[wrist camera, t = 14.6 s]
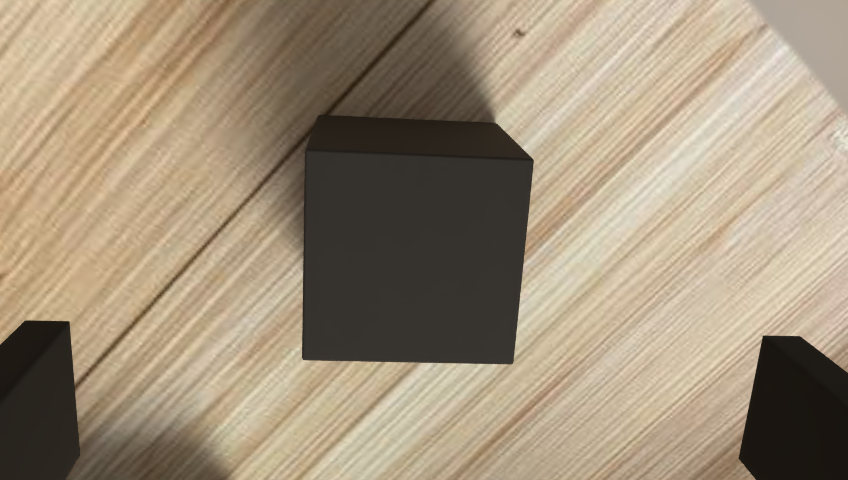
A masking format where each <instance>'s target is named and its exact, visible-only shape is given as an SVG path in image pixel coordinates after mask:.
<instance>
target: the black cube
mask: <svg viewBox="0 0 848 480" xmlns="http://www.w3.org/2000/svg"><path fill="white" fill-rule="evenodd" d="M533 163H534V161H533V159H532V158H531V157H530V156H529V155H528V154H527V153H526V152H525V151H524V150H523V149H522V148H521V147H520V146H519V145H518V144H517V143H516V142H515V141H514V140H513V139H512V138H511V137H510V136H509V135H508V134H507V133H506V132H505V131H504V130H503V129H502V128H501V127H500V126H499V125H498V124H496V123H479V122H458V121H436V120H415V119H394V118H373V117H352V116H331V115H318V117H317V120H316V123H315V125H314V128H313V131H312V134H311V136H310V139H309V142H308V145H307V147H306V150H305V190H304V261H303V332H302V358H303V360H321V361H370V362H420V363H470V364H513V361H514V351H515V341H516V331H517V321H518V311H519V302H520V292H521V282H522V272H523V262H524V252H525V242H526V232H527V223H528V213H529V203H530V193H531V183H532V173H533Z"/></svg>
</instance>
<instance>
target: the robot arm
mask: <svg viewBox="0 0 848 480" xmlns="http://www.w3.org/2000/svg"><path fill="white" fill-rule="evenodd" d="M79 456H80V448H79V435H78V423H77V410H76V398H75V385H74V373H73V360H72V348H71V335H70V323H69V321H24V322H23V323H22V324H21V325H20V326H19V327H18V328H17V329H16V330H15V331H14V332H13V333H12V334H11V335H10V336H9V337H8V338H7V339H6V340H5V341H4V342H3V343H2V344H1V345H0V480H65V479H66V477H67V476H68V474H69V472H70V471H71V469H72V468H73V466H74V464H75V463H76V461H77V459H78V458H79ZM739 459H740V461H741V462H742V463H743V464H744V465H745V467H746V468H747V469H748V470H749V472H750V473H751V474H752V475H753V476H754V478H755V479H756V480H848V373H847V372H846V371H844V370H843V369H842V368H841V367H839V366H838V365H837V364H835V363H834V362H833V361H831V360H830V359H829V358H828V357H826V356H825V355H824V354H822V353H821V352H820V351H818V350H817V349H816V348H815V347H813V346H812V345H811V344H809V343H808V342H807V341H806V340H804V339H803V338H802V337H800V336H763V338H762V343H761V348H760V353H759V359H758V364H757V369H756V374H755V379H754V384H753V389H752V394H751V399H750V404H749V409H748V414H747V419H746V424H745V429H744V434H743V439H742V444H741V450H740V455H739Z"/></svg>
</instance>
